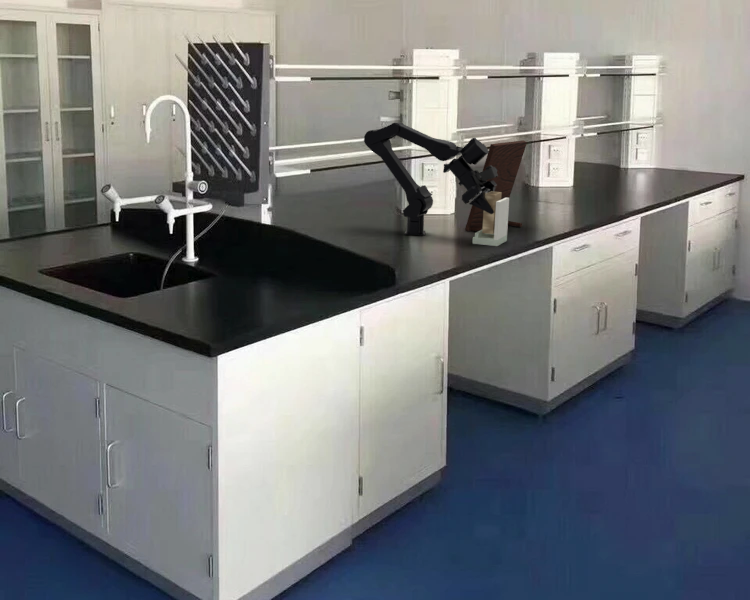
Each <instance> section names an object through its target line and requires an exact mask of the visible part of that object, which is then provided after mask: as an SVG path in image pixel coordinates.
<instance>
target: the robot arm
mask: <svg viewBox="0 0 750 600" xmlns="http://www.w3.org/2000/svg"><path fill="white" fill-rule="evenodd" d="M395 137H398V138H401V139H402V140H405V141H407V142H409V143H412V144H414V145H416V146H418V147H420V148H423V149H425V150H426V151H427V152H429V154H430V155H432V156H433V157H434V158H435V159H437V160H438V161H440V162H446V161H450V162H449V163H444V164H443V171H442V172H443V173H444V174H446V173H449V171H450V172H451V173H452V174H453V176H454V177H455V178H456V179H457V180H458V185H459V186H463V187H464V189H465V190H466V191H465V192H464V193H463V194H462V195H461V201H462V202H463V203H464V204H465V205H467V204H469V205H471V206H472V205H473V206H475V207H478V208H480V209H482V210H484V211H486V212H488V213H490V214H493V213H494V211H493V209H492V208H491V206H490V204H489V203H488V201H487V200H486V198H485V194H486V193H488V192H491V191H493V192H495V186H496V185H497V184H496V183H495V182H494V180H488V179H492V178H494V177H497V176H498V174H497V171H498V170H497V169H496V168H495V167H493V166H492V165H491V166H488V167H486V170H485V171H483V170H482V171H483V172H482V171H479V170H476V169H475V170H474V169H473V168H472V166H471V165H477V164H478V163H479V162H480V161H481V160H483V159H484V158H485V157H487V155H488V153H489V152H488V151H489V148H488V147H487V146H486V145H485V144H484V143H482V142H481V141H480V140H478V139H477V137H472V138H470V140H469V141H468V143H466V145H465V146H458V145H456V144H455V143H454V142H453V141H449V140H445V139H441V138H435V137H432V136H431V135H428V134H426V133H423V132H422V131H419V130H417V129H415V128H412V127H410V126H409V125H407V124H404V123H403V122H401V121H397V122H392V123H391V124H389V125H386V126H384V127H382V128H380V129H379V128H378V129H377V128H376V129H372V130H368V131H366V133H365V134H364V137H363V142H364V144H365V146H366V147H367V148H368V149H369V150H370V151H373V153H374V154H375V155H377V156H378V157H380V159H381V160H382V161H383V163H384V164H385V166H386V167H387V168H388V170H389V171H390V173H391V174H392V175H393V178H394V179H396V180H395V181H397V183H398V184H399V185H400V187H401V188H402V190H403V191H404V193H405V197H406V201H407V203H408V205H407V206H406V207H405V208H404V209H403V210H402V213H403V217H404V218H405V217H406V230H405V232H404V235H406V236H425V234H426V230H424V229H425V227H424V226H425V224H424V223H425V215H427V214H428V211H429V210H430V209H431V208H432V207H433V204H434V199H433V197H432V196H433V194H432V193H431V192H430V191H429V189H428V187H427V186H426V185H422V186H421V185H420V184H417V182H416V181H415V179H414V178H413V176H412V175H411V173H410V172H409V171H408V170H407V169H406V167H405V165H404V164H403V163H402V161H401V160H400V159H399V157H398V156H397V154H396V153H395V152H394V150H393V146H392V143H391V139H394V138H395ZM457 156H459V157H458V158H455V157H457ZM486 180H488V181H486Z"/></svg>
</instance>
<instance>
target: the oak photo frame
mask: <svg viewBox="0 0 750 600" xmlns="http://www.w3.org/2000/svg"><path fill="white" fill-rule="evenodd" d="M501 194H502V192H493V191H491V192H488V193H486V194H485V198H486V200H487V201H488V203H489V204H490V206H491V208H492V209H493V211H494V213H493V214H490V213H488V212H486V211H484V213H483V229H482V233H487V234H494V229H495V211H496V202H497V201H499V200H501Z"/></svg>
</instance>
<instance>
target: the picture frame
mask: <svg viewBox="0 0 750 600" xmlns="http://www.w3.org/2000/svg"><path fill="white" fill-rule="evenodd" d="M527 145H528V141H526V140H524V139H523V140H516V141H515V140H513V141H507V142H505V141H504V142H497V143H490V145H489V148H488V152H489V153H488V154H487V155H486V158H485V162H484V165H483V168H482V171H481V172H483V171H485V170H486V167H488V166H491V165H492V166H493V167H495V168H496V169H497V170H498V171H497V174H498V176H497V177H494V178H492V179H488V180H494V182H495V183H496V184H497V185H496V186H495V192H502V194H501V199H504V198H509V199H510V197H511V194H512V191H513V187H514V184H515V181H516V180H517V179H516V177H517V176H518V173H519V169H520V165H521V163H522V159H523V157H524V153H525V150H526V148H527ZM488 180H486V181H488ZM483 213H484V210H482V209H480V208H478V207H475V206H473V205H471V208H470V211H469V213H468V214H469V215H468V217H467V220H466V221H467V222H466V224H465V228H464V230H465V231H467V232H472V231H474V232H478V231H480V230H482V229H483ZM508 226H512V227H518V228H522V227H523V223H522V222H518V221H510V220H508Z"/></svg>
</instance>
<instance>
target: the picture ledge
mask: <svg viewBox="0 0 750 600" xmlns="http://www.w3.org/2000/svg"><path fill="white" fill-rule="evenodd" d="M509 209H510V197H509V198H504V199H501V200H499V201H497V202H496V211H495V229H494V234H487V233H482V230H480V231H475V233H474V236H473V237H472V245H482V246H483V245H484V246H491V247H498V246H500V245H502V244H503V243H506V242H507V241H508V227H509V225H508V221H509Z"/></svg>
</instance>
